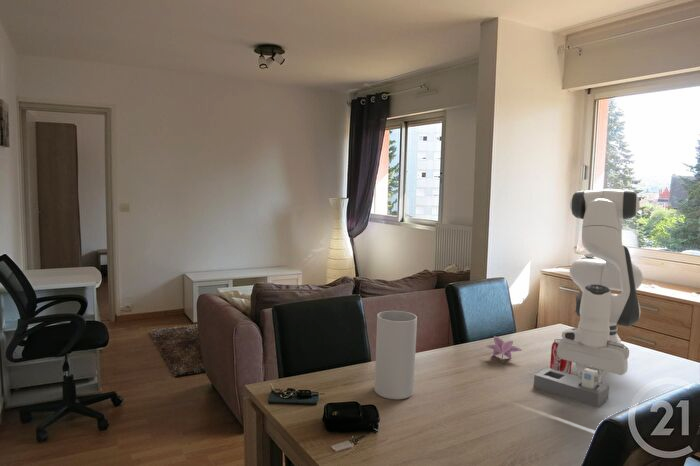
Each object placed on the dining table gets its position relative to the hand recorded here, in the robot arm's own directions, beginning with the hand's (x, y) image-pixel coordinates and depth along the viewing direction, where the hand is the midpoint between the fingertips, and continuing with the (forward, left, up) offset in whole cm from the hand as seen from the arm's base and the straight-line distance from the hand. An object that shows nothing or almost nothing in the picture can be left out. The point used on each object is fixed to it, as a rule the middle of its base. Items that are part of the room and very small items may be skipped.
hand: (589, 379), depth 155 cm
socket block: (0, -6, -7) cm, 9 cm away
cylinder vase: (+42, -45, -7) cm, 62 cm away
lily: (-12, -36, -7) cm, 38 cm away
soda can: (-16, -15, -7) cm, 23 cm away
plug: (0, 0, -6) cm, 6 cm away
